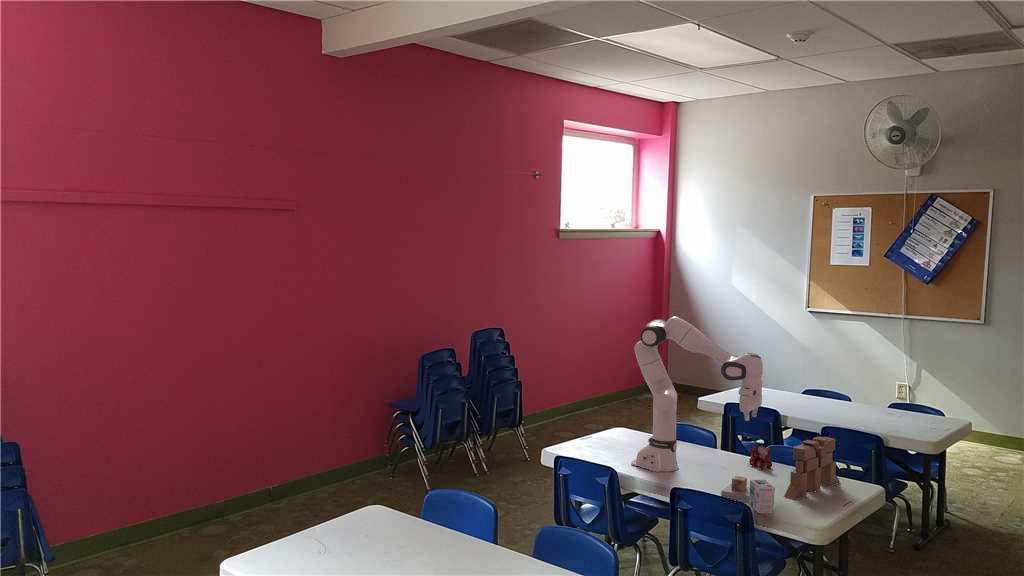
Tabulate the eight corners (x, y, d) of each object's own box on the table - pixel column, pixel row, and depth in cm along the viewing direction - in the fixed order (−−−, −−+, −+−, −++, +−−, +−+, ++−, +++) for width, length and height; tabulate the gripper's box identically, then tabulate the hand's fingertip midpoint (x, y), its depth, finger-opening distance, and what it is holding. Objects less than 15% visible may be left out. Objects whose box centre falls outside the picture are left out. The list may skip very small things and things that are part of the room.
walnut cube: (731, 489, 341) (731, 478, 340) (735, 486, 345) (735, 475, 345) (743, 492, 338) (743, 480, 338) (746, 489, 342) (746, 477, 342)
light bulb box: (748, 504, 330) (749, 479, 329) (764, 504, 330) (764, 479, 329) (758, 513, 319) (759, 487, 318) (774, 513, 320) (775, 487, 319)
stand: (721, 496, 340) (721, 490, 339) (731, 489, 349) (731, 483, 349) (748, 502, 333) (748, 496, 333) (757, 494, 342) (758, 489, 342)
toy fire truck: (757, 462, 392) (758, 442, 391) (774, 469, 380) (775, 448, 380) (746, 463, 389) (746, 443, 389) (762, 471, 378) (763, 449, 377)
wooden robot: (825, 478, 367) (827, 430, 366) (843, 483, 361) (845, 434, 359) (781, 497, 340) (783, 445, 339) (799, 502, 334) (801, 449, 333)
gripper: (752, 384, 369) (751, 413, 370) (737, 391, 353) (736, 421, 354) (765, 386, 366) (764, 415, 367) (751, 393, 349) (750, 423, 350)
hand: (750, 418), depth 360 cm, fingers open, 8 cm apart
